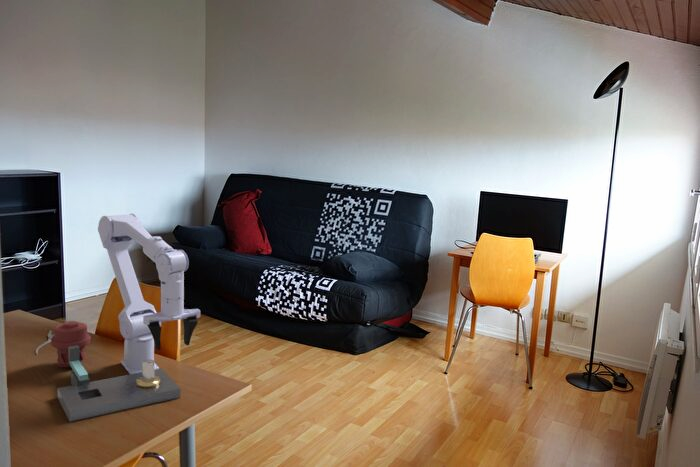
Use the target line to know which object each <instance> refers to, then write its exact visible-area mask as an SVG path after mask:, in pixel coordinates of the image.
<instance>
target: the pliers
mask: <svg viewBox="0 0 700 467" xmlns="http://www.w3.org/2000/svg"><path fill="white" fill-rule="evenodd" d="M46 336H47V340H46V341H44V342H43V343H41V344H40V345H39V346H37V347H36V348H35V350H34V352H35V356H39V353H38V351H39V350H40V349H41V348H43V347H45V346H47V345H49V344H51V338H52V337H53V336H54V332H52V330H49V332H48V333H47V335H46Z"/></svg>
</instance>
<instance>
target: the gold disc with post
mask: <svg viewBox="0 0 700 467" xmlns="http://www.w3.org/2000/svg"><path fill="white" fill-rule="evenodd" d="M154 363H155V359H154V360H144V361H142V377H139V378H138V379H137V380H136V385H137V386H138V387H142V388H150V387H155V386H157V385H159V384H160V378H159V377H158V376H154Z"/></svg>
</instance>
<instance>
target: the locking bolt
mask: <svg viewBox="0 0 700 467" xmlns="http://www.w3.org/2000/svg"><path fill="white" fill-rule="evenodd" d="M68 359H69V364H70V366H71V367H70V368H71V369H72V371H74V372H75V374H76V376H77V377H78V379H79V381H82V380H88V377H89V373H88V372H87V370H86V369H85V367H84V366H83V364H82V362H80V361H79V360H80V347H79V346H78V345H75V346H68Z"/></svg>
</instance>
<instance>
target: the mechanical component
mask: <svg viewBox="0 0 700 467" xmlns="http://www.w3.org/2000/svg"><path fill="white" fill-rule="evenodd" d="M53 335H54V336H53V337H52V338H51V342H50V345H51V346H52V347H53V348H56V354H57V360H56V361H57V363H58V364H57V365H58V367H59V368H72V367H71V366H70V364H69V359H68V346H75V345H78V346H79V347H80V360H79V361H80V362H81V363H82V362H84V361H85V360H86V353H85V350H86V349H85V348H86V346H87V345H89V344H90V343H91V342H92V341H91V340H92V339H91V335H90V333H88V325H87V324H86V323H84V322H81V321H76V320H67V321H64V322H63V323H59V324H56V325H54V328H53Z"/></svg>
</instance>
